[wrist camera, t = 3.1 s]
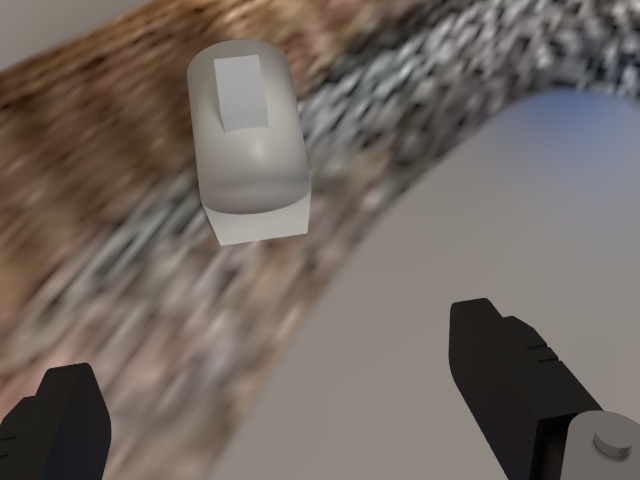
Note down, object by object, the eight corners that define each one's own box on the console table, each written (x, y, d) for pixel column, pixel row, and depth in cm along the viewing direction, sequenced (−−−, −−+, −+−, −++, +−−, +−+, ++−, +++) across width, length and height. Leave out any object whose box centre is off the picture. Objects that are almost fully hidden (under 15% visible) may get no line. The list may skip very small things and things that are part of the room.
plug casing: (290, 136, 28) (290, 11, 20) (307, 233, 27) (314, 146, 18) (209, 146, 28) (170, 24, 19) (220, 245, 26) (184, 163, 17)
